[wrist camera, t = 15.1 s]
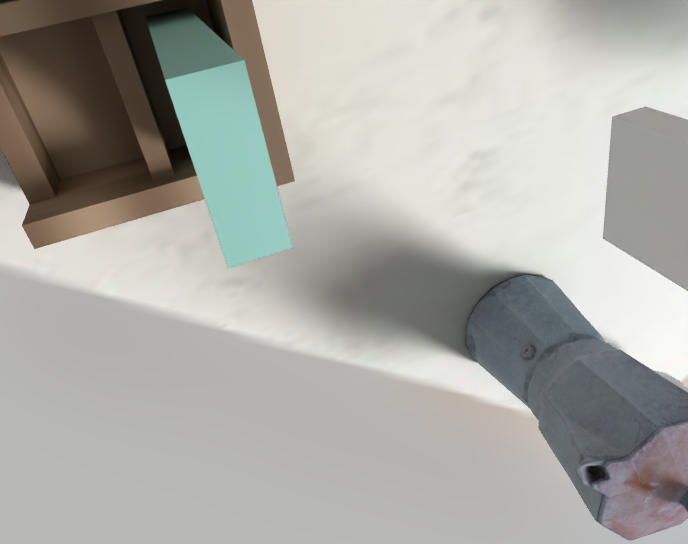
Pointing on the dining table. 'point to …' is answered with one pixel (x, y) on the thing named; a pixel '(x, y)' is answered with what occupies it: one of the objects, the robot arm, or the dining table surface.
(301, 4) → the dining table surface
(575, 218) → the dining table surface
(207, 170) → the panel
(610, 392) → the moka pot
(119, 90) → the rack
